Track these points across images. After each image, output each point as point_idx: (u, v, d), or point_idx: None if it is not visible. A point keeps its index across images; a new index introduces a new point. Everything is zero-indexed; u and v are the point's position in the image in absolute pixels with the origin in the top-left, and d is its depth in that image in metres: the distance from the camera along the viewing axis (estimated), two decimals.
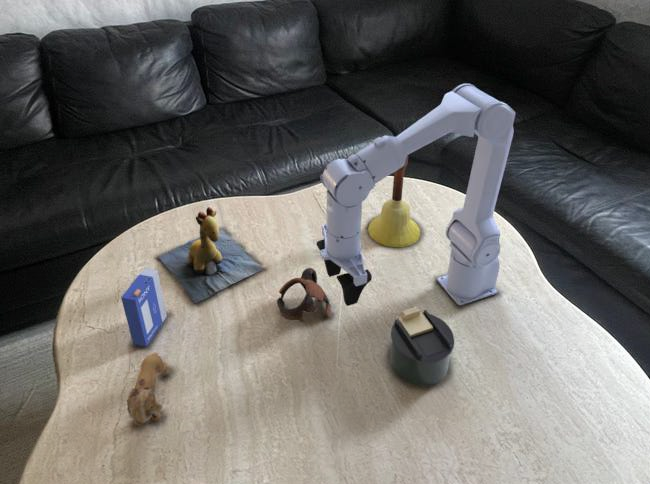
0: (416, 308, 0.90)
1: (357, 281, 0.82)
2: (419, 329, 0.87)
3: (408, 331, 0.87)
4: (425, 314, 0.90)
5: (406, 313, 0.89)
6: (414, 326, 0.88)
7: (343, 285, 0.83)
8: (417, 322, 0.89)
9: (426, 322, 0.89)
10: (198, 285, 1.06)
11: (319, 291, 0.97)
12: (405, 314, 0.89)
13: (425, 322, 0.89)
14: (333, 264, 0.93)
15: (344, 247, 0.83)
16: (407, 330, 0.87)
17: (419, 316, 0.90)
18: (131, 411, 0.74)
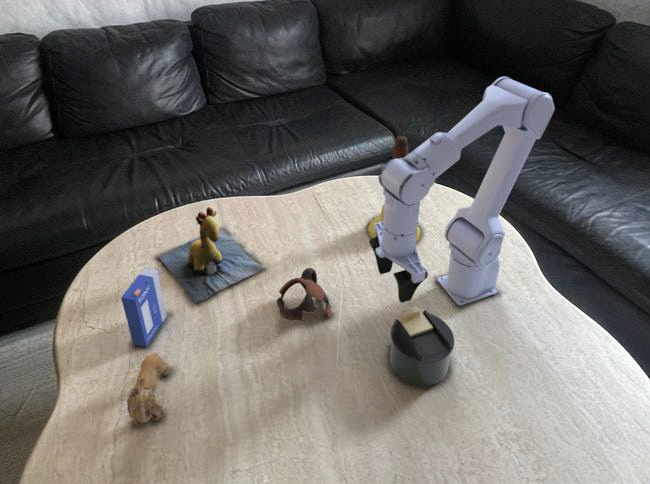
0: (416, 308, 0.90)
1: (415, 278, 0.83)
2: (419, 329, 0.87)
3: (408, 331, 0.87)
4: (425, 314, 0.90)
5: (406, 313, 0.89)
6: (414, 326, 0.88)
7: (401, 282, 0.84)
8: (417, 322, 0.89)
9: (426, 322, 0.89)
10: (198, 285, 1.06)
11: (319, 291, 0.97)
12: (405, 314, 0.89)
13: (425, 322, 0.89)
14: (385, 262, 0.95)
15: (401, 245, 0.85)
16: (407, 330, 0.87)
17: (419, 316, 0.90)
18: (131, 411, 0.74)
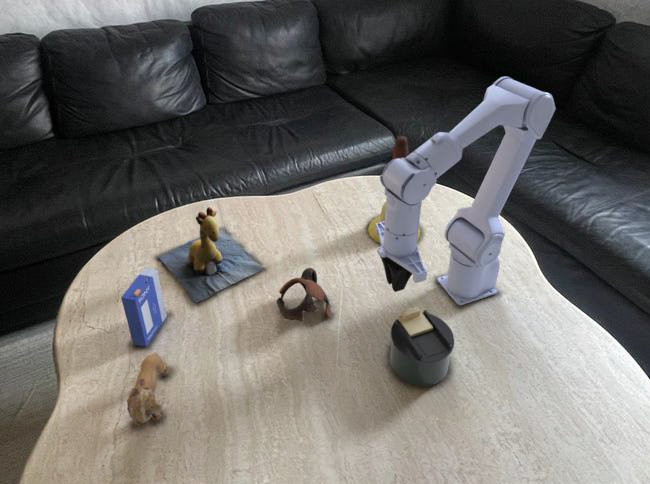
0: (416, 308, 0.90)
1: (417, 278, 0.83)
2: (419, 329, 0.87)
3: (408, 331, 0.87)
4: (425, 314, 0.90)
5: (406, 313, 0.89)
6: (414, 326, 0.88)
7: (394, 271, 0.87)
8: (417, 322, 0.89)
9: (426, 322, 0.89)
10: (198, 285, 1.06)
11: (319, 291, 0.97)
12: (405, 314, 0.89)
13: (425, 322, 0.89)
14: None
15: (403, 245, 0.85)
16: (407, 330, 0.87)
17: (419, 316, 0.90)
18: (131, 411, 0.74)
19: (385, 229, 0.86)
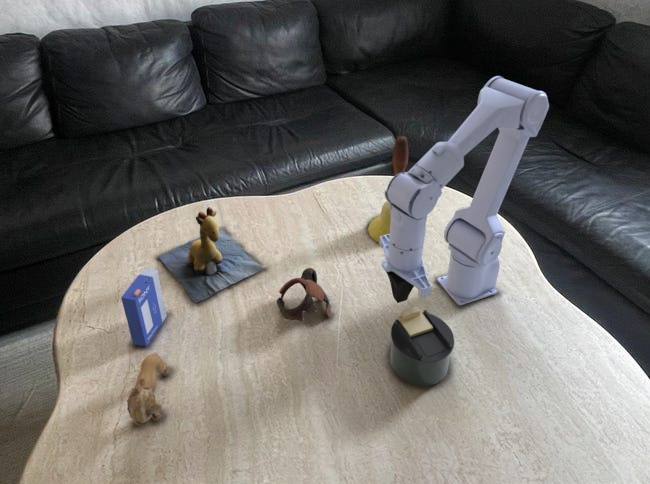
0: (416, 308, 0.90)
1: (422, 293, 0.82)
2: (419, 329, 0.87)
3: (408, 331, 0.87)
4: (425, 314, 0.90)
5: (406, 313, 0.89)
6: (414, 326, 0.88)
7: (397, 283, 0.86)
8: (417, 322, 0.89)
9: (426, 322, 0.89)
10: (198, 285, 1.06)
11: (319, 291, 0.97)
12: (405, 314, 0.89)
13: (425, 322, 0.89)
14: None
15: (408, 259, 0.84)
16: (407, 330, 0.87)
17: (419, 316, 0.90)
18: (131, 411, 0.74)
19: (390, 243, 0.86)
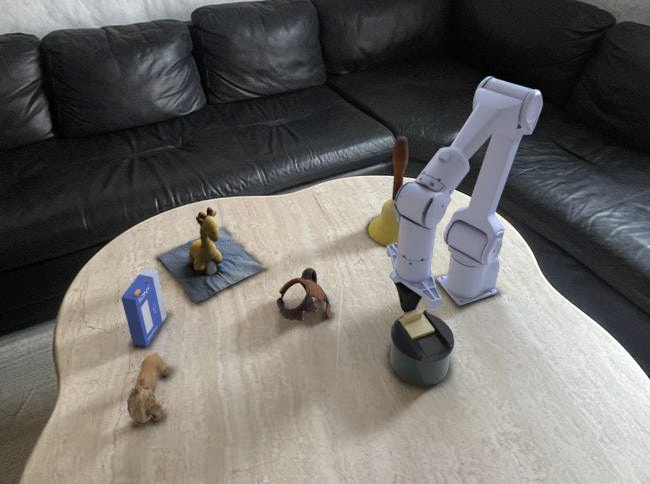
0: (418, 310, 0.89)
1: (432, 305, 0.80)
2: (420, 332, 0.87)
3: (410, 334, 0.86)
4: (425, 314, 0.90)
5: (408, 315, 0.88)
6: (416, 328, 0.87)
7: (405, 294, 0.84)
8: (419, 324, 0.88)
9: (428, 324, 0.88)
10: (198, 285, 1.06)
11: (319, 291, 0.97)
12: (407, 316, 0.88)
13: (427, 324, 0.88)
14: None
15: (417, 270, 0.82)
16: (409, 333, 0.87)
17: (421, 318, 0.89)
18: (131, 411, 0.74)
19: (398, 253, 0.83)
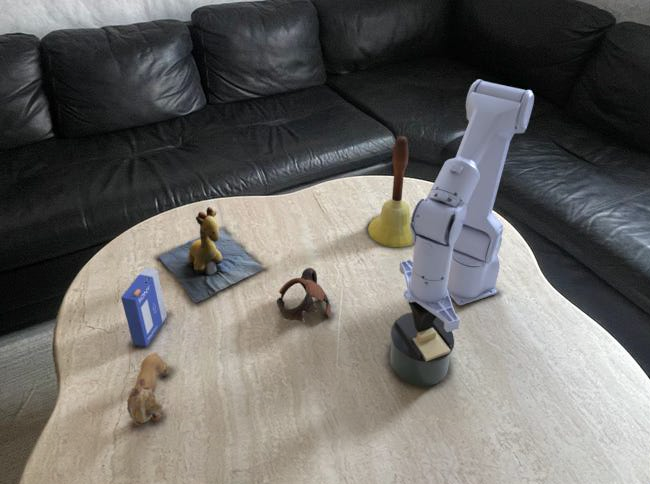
0: (432, 330, 0.86)
1: (449, 327, 0.76)
2: (435, 353, 0.83)
3: (424, 354, 0.83)
4: None
5: (422, 335, 0.85)
6: (430, 349, 0.84)
7: (420, 313, 0.81)
8: (433, 345, 0.84)
9: (443, 345, 0.84)
10: (198, 285, 1.06)
11: (319, 291, 0.97)
12: (421, 336, 0.84)
13: (442, 345, 0.84)
14: None
15: (433, 289, 0.78)
16: (423, 353, 0.83)
17: (435, 338, 0.86)
18: (131, 411, 0.74)
19: (413, 272, 0.80)
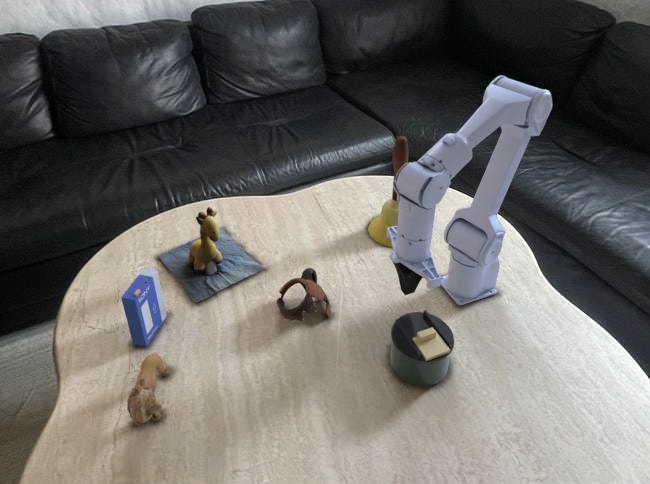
0: (432, 329, 0.86)
1: (431, 284, 0.81)
2: (435, 352, 0.83)
3: (424, 354, 0.83)
4: (425, 314, 0.90)
5: (422, 335, 0.85)
6: (430, 349, 0.84)
7: (405, 274, 0.85)
8: (433, 344, 0.84)
9: (443, 344, 0.84)
10: (198, 285, 1.06)
11: (319, 291, 0.97)
12: (421, 336, 0.84)
13: (442, 344, 0.84)
14: None
15: (416, 250, 0.83)
16: (423, 353, 0.83)
17: (435, 338, 0.86)
18: (131, 411, 0.74)
19: (398, 234, 0.84)
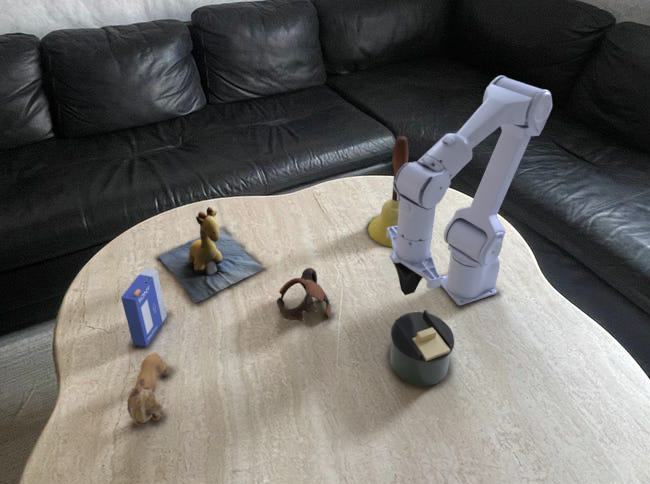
0: (432, 329, 0.86)
1: (431, 284, 0.81)
2: (435, 352, 0.83)
3: (424, 354, 0.83)
4: (425, 314, 0.90)
5: (422, 335, 0.85)
6: (430, 349, 0.84)
7: (405, 274, 0.85)
8: (433, 344, 0.84)
9: (443, 344, 0.84)
10: (198, 285, 1.06)
11: (319, 291, 0.97)
12: (421, 336, 0.84)
13: (442, 344, 0.84)
14: None
15: (416, 250, 0.83)
16: (423, 353, 0.83)
17: (435, 338, 0.86)
18: (131, 411, 0.74)
19: (398, 234, 0.84)
